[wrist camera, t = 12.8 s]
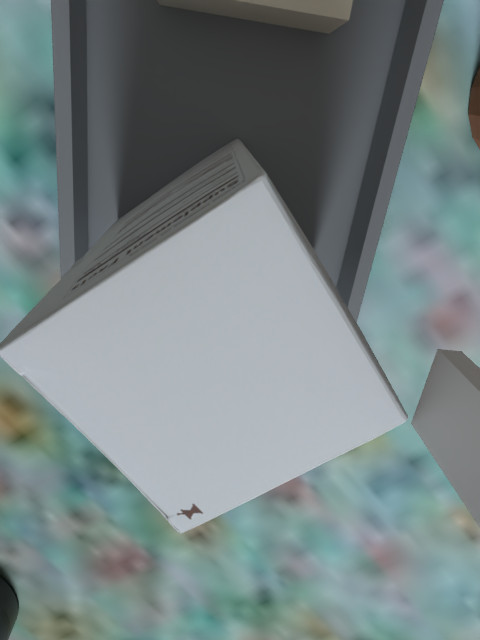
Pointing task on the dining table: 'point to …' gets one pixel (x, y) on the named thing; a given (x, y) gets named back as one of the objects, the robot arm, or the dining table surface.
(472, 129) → the potted plant
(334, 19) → the beige block
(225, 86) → the grey shallow rectangular tray
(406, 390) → the dining table surface
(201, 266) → the supplement box
